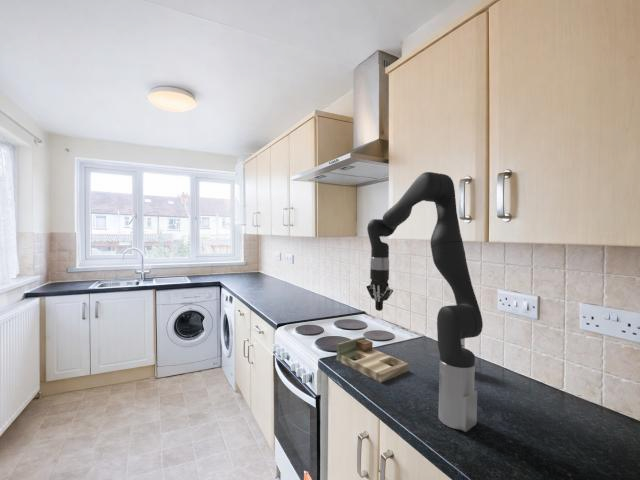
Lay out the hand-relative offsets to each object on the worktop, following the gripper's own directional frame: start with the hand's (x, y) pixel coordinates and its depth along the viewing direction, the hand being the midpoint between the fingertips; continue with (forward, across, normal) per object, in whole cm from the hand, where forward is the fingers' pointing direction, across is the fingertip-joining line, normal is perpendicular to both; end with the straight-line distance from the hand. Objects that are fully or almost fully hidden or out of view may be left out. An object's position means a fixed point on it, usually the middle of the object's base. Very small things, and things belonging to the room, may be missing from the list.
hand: (378, 310), depth 128 cm
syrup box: (+22, -22, -20) cm, 37 cm away
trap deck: (+22, 0, +4) cm, 22 cm away
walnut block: (+19, +8, 0) cm, 21 cm away
